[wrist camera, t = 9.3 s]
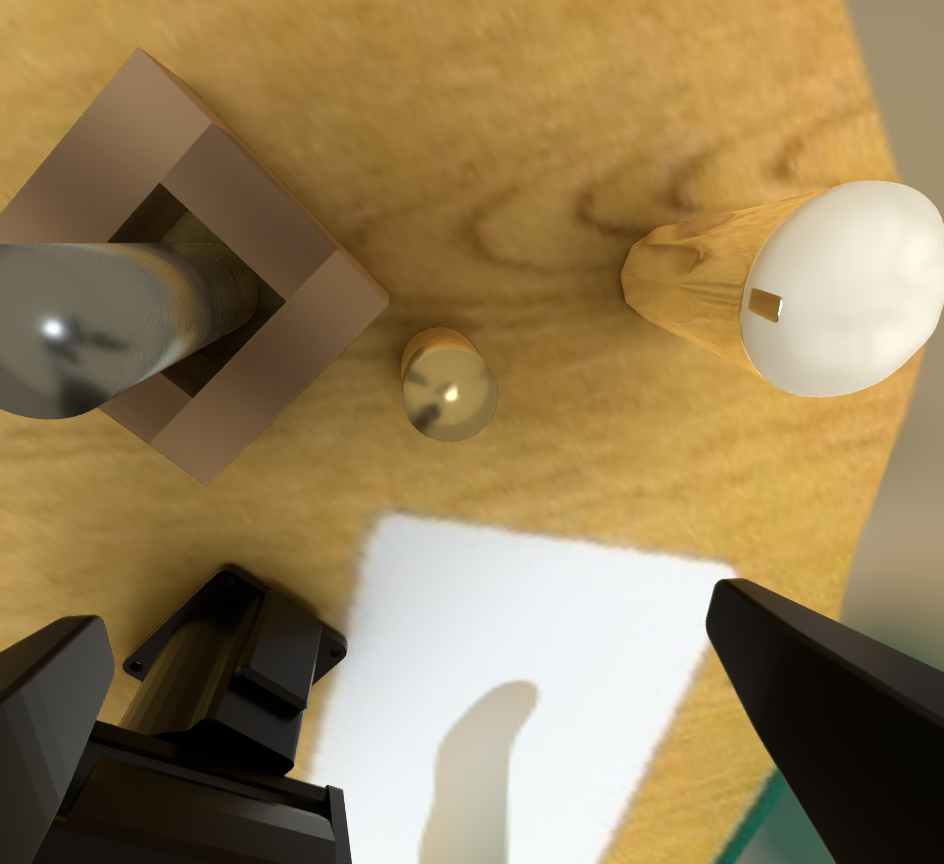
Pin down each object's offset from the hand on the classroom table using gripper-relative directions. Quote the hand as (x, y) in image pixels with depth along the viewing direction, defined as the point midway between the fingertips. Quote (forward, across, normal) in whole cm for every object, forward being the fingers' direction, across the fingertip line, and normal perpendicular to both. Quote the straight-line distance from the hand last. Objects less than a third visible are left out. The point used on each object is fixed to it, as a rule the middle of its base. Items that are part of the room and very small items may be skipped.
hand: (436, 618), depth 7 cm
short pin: (+12, -1, -1) cm, 12 cm away
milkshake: (+12, -9, -4) cm, 16 cm away
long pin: (+12, +6, -4) cm, 14 cm away
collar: (+12, +6, -4) cm, 14 cm away
